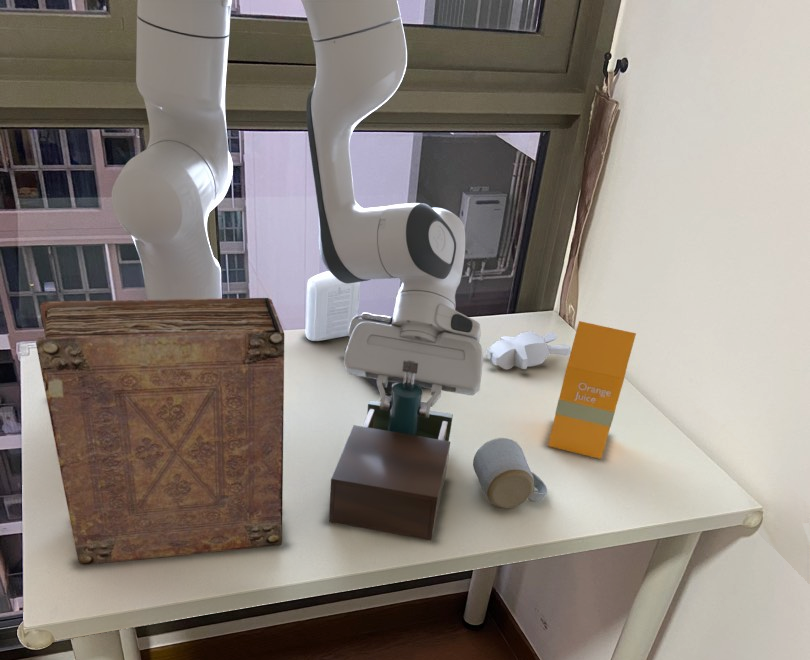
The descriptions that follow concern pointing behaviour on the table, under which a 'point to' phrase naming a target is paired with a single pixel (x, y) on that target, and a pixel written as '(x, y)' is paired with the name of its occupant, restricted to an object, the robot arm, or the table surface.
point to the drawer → (427, 427)
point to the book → (166, 423)
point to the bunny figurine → (524, 350)
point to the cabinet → (389, 482)
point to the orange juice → (591, 389)
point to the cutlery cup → (405, 402)
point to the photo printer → (330, 307)
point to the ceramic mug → (506, 474)
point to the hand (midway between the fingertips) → (404, 412)
